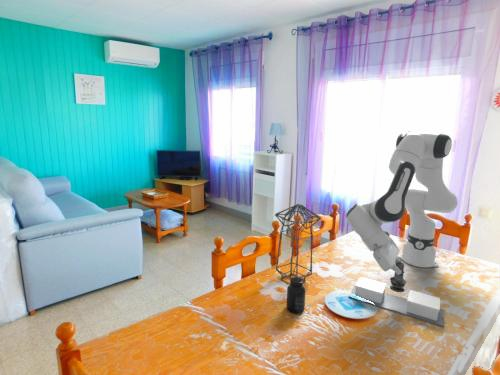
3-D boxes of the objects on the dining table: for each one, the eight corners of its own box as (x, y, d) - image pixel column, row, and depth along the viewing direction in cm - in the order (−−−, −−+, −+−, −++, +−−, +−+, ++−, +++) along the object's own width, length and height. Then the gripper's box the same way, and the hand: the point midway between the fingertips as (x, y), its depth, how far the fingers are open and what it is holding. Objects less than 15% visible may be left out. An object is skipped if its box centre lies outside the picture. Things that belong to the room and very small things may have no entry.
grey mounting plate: (355, 285, 137) (357, 274, 136) (443, 310, 120) (445, 298, 119) (348, 297, 127) (349, 285, 126) (443, 327, 110) (445, 313, 109)
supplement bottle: (305, 306, 120) (307, 277, 118) (302, 316, 114) (304, 286, 111) (288, 302, 122) (289, 274, 120) (284, 312, 116) (285, 282, 114)
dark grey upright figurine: (407, 293, 119) (411, 264, 117) (391, 291, 120) (394, 262, 118) (403, 286, 125) (406, 257, 122) (387, 284, 126) (390, 256, 123)
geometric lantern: (268, 278, 141) (272, 202, 135) (293, 269, 151) (298, 198, 145) (293, 292, 129) (299, 210, 123) (318, 283, 139) (325, 206, 133)
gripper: (378, 245, 113) (405, 277, 110) (388, 230, 130) (411, 258, 127) (364, 253, 117) (389, 285, 113) (375, 238, 134) (397, 265, 131)
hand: (401, 271), depth 121 cm, fingers closed on dark grey upright figurine, 3 cm apart
